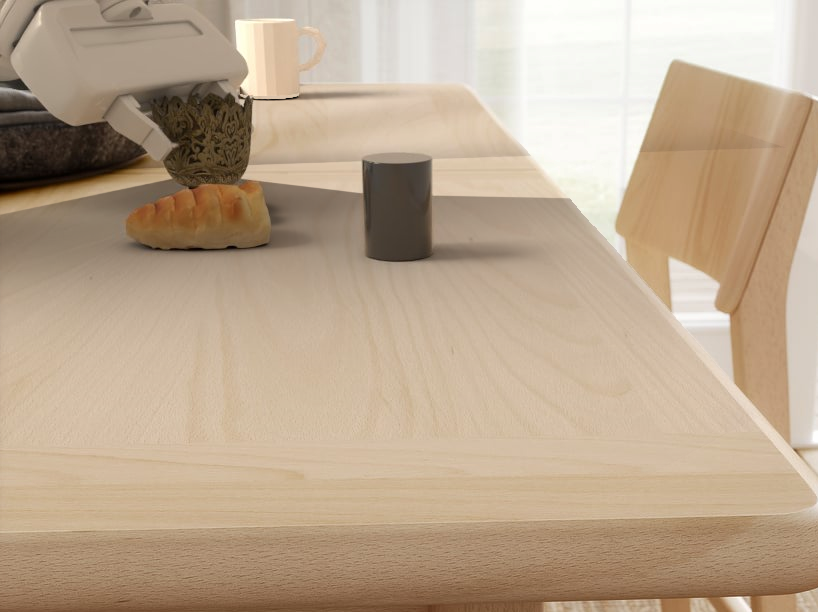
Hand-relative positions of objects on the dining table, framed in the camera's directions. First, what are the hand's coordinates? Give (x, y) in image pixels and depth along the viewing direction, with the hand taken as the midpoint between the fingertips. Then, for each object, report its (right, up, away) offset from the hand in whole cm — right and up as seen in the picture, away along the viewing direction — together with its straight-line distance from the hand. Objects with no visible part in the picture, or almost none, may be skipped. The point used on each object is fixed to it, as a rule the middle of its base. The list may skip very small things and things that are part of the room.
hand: (209, 145), depth 87 cm
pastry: (+2, -9, -9) cm, 13 cm away
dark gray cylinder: (+15, -10, -12) cm, 21 cm away
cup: (0, -4, +2) cm, 5 cm away
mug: (-5, +25, +73) cm, 77 cm away
